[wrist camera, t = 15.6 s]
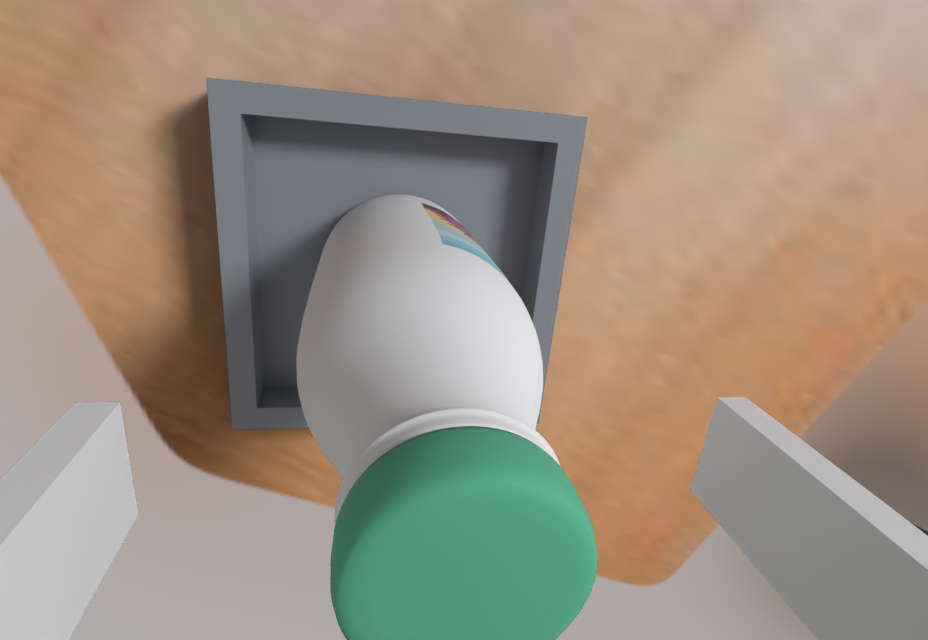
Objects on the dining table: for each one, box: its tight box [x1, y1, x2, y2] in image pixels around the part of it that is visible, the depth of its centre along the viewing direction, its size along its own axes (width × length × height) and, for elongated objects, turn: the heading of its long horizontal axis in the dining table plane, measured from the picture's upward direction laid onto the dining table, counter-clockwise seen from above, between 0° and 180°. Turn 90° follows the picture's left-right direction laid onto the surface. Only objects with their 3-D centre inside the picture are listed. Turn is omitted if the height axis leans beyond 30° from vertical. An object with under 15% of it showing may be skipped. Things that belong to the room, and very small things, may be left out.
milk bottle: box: [296, 194, 598, 640], centre depth 18 cm, size 8×8×20 cm
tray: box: [206, 78, 588, 429], centre depth 26 cm, size 16×16×3 cm
